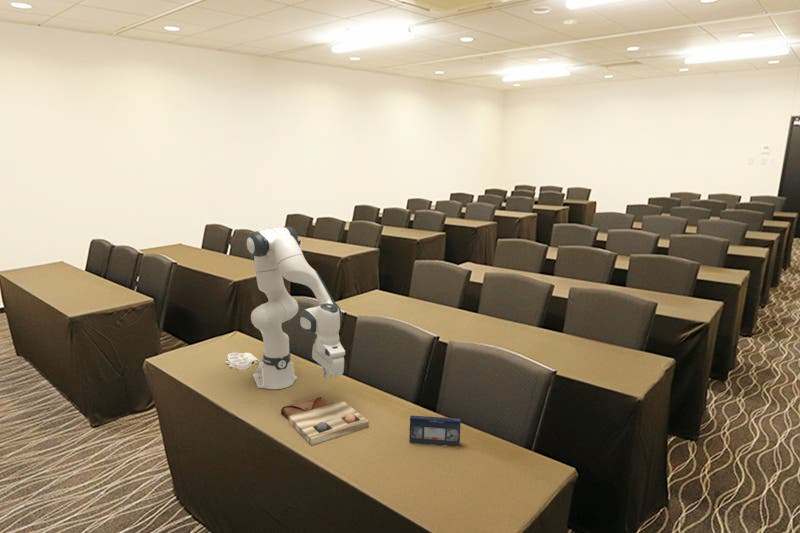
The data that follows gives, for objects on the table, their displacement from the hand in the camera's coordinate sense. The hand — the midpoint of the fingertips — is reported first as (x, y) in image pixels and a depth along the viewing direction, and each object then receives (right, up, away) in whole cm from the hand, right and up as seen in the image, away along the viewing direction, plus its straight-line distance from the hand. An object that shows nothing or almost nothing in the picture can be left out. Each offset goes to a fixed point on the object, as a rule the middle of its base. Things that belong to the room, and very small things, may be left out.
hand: (326, 377), depth 205 cm
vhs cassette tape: (+42, -21, -17) cm, 49 cm away
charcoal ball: (0, -16, -12) cm, 20 cm away
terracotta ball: (+10, -15, -5) cm, 19 cm away
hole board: (+1, -17, -5) cm, 18 cm away
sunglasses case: (-9, -16, +4) cm, 18 cm away
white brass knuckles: (-50, -5, +52) cm, 72 cm away
